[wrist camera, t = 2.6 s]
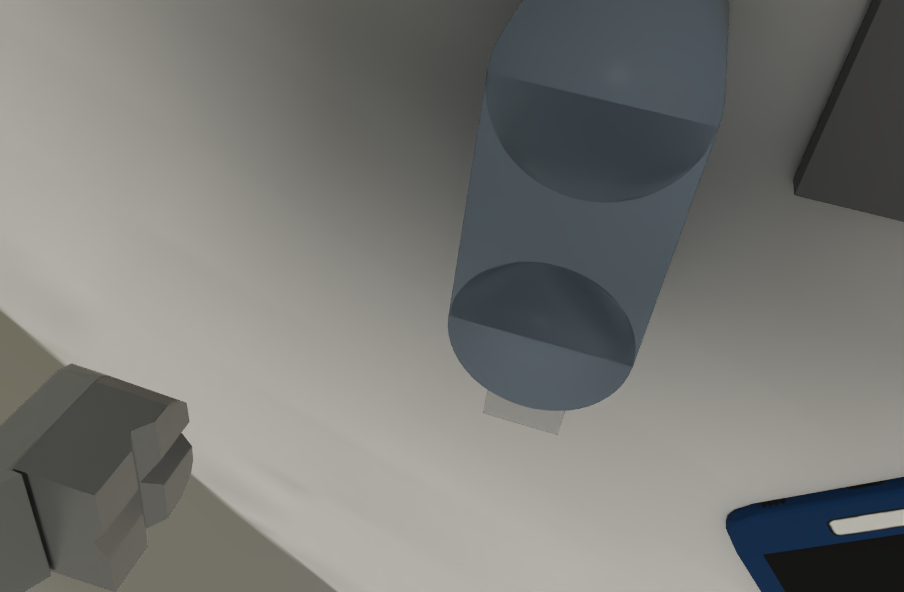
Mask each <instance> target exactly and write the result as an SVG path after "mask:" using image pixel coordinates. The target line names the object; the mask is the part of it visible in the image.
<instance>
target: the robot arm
mask: <svg viewBox="0 0 904 592" xmlns="http://www.w3.org/2000/svg"><path fill="white" fill-rule="evenodd" d="M188 423H189V415H188V409H187V403H186V402H183V401H180V400H177V399H174V398H171V397H168V396H166V395H163V394H160V393H157V392H154V391H151V390H148V389H145V388H143V387H140V386H137V385H134V384H131V383H128V382H125V381H122V380H120V379H117V378H114V377H111V376H108V375H105V374H102V373H99V372H96V371H93V370H90V369H87V368H84V367H81V366H77V365H74V364H70V365H67V366H65V367H63V368H61V369H58V370H57V371H56V372H55V373H54V374H53V375H52V376H51V377H50V378H49V379H47V381H45V382H44V383H43V384H42V385H41V386H40V387H39V388H38V389H37V390H36V391H35V392H34V393H33V394H32V395H31V396H30V397H29V398H28V399H27V400H26V401H25V402H24V403H23V404H22V405H21V406H20V407H19V408H18V409H17V410H16V411H15V412H14V413H13V414H12V415H11V416H10V417H9V418H8V419H7V420H6V421H5V422H4V423H3V424H2V425H1V426H0V592H25V591H26V590H28V589H30V588H31V587H33V586H35V585H36V584H38V583H40V582H41V581H43V580H45V579H46V578H48V577H50V576H51V571H53V572H56V573H59V574H62V575H65V576H68V577H71V578H74V579H77V580H80V581H83V582H86V583H90V584H93V585H96V586H98V587H101V588H105V589H108V590H111V591H114V592H116V591H117V590H118V588H119V587H120V586H121V584H122V583H123V582H124V580H125V579H126V577H127V576H128V575H129V573H130V572H131V570H132V569H133V567H134V566H135V565H136V563H137V562H138V560H139V559H140V558H141V556H142V555H143V553H144V552H145V551H146V549H147V548H148V543H147V542H148V541H147V528H149V527H150V526H153V525H155V524H157V523H159V522H161V521H163V520H165V519H167V518H169V516H170V515H171V513H172V512H173V510H174V509H175V507H176V506H177V504H178V503H179V501H180V499H181V498H182V496H183V493H184V491H185V488H186V486H187V483H188V481H189V479H190V476H191V470H192V463H193V453H192V446H191V444H190V443H189V442H188V441H187V439H186V438H185V437H184V435H183V434H182V433H181V432H182V431H183V430H184V428H185V427H186V426H187V424H188Z"/></svg>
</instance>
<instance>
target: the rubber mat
mask: <svg viewBox="0 0 904 592" xmlns="http://www.w3.org/2000/svg"><path fill="white" fill-rule="evenodd" d="M793 184H794V195H796V196H800V197H804V198H809V199H813V200H817V201H821V202H825V203H829V204H833V205H837V206H841V207H846V208H850V209H854V210H858V211H862V212H866V213H870V214H874V215H878V216H882V217H887V218H891V219H895V220H899V221H903V222H904V0H873V1H872V3H871V5H870V8H869V10H868V12H867V14H866V17H865V19H864V21H863V23H862V26H861V28H860V30H859V33H858V35H857V37H856V39H855V42H854V44H853V46H852V48H851V51H850V53H849V55H848V57H847V60H846V62H845V64H844V66H843V69H842V71H841V73H840V76H839V78H838V80H837V82H836V85H835V87H834V89H833V91H832V94H831V96H830V98H829V100H828V103H827V105H826V107H825V109H824V112H823V114H822V116H821V119H820V121H819V123H818V125H817V128H816V130H815V132H814V134H813V137H812V139H811V141H810V143H809V146H808V148H807V150H806V153H805V155H804V157H803V159H802V162H801V164H800V166H799V168H798V171H797V173H796V175H795V177H794V180H793Z"/></svg>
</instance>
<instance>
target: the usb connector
mask: <svg viewBox="0 0 904 592" xmlns="http://www.w3.org/2000/svg"><path fill="white" fill-rule="evenodd" d="M728 25H729V0H523V1H522V3H521V4H520V6H519V7H518V9H517V10H516V12H515V13H514V15H513V16H512V18H511V20H510V21H509V23H508V24H507V26H506V27H505V29H504V30H503V32H502V34H501V35H500V37H499V39H498V41H497V43H496V45H495V47H494V50H493V52H492V55H491V58H490V62H489V66H488V71H487V76H486V82H485V89H484V95H483V101H482V108H481V114H480V120H479V127H478V133H477V139H476V146H475V152H474V158H473V165H472V171H471V177H470V184H469V190H468V196H467V203H466V209H465V215H464V221H463V228H462V234H461V240H460V247H459V253H458V259H457V266H456V272H455V278H454V285H453V291H452V297H451V304H450V310H449V317H448V331H449V337H450V341H451V345H452V347H453V350H454V352H455V354H456V356H457V358H458V360H459V361H460V363H461V364H462V365H463V367H464V368H465V369H466V371H467V372H468V373H469V374H470V375H471V376H472V377H473V378H474V379H475V380H476V381H477V382H478V383H480V384H481V385H482V386H483V387H485V388H486V389H488V391H487V396H486V401H485V406H484V410H483V413H485V414H488V415H491V416H495V417H498V418H502V419H505V420H508V421H512V422H515V423H519V424H522V425H525V426H529V427H532V428H536V429H539V430H542V431H546V432H549V433H553V434H556V435H558V432H559V429H560V425H561V422H562V419H563V416H564V412H565V410H574V409H580V408H583V407H587V406H590V405H593V404H595V403H598V402H600V401H602V400H603V399H605V398H607V397H609V396H610V395H611V394H613V393H614V392H615V391H616V390H617V389H618V388H619V387H620V386H621V385H622V384H623V383H624V381H625V380H626V379H627V377H628V376H629V374H630V371H631V369H632V367H633V364H634V362H635V359H636V356H637V353H638V350H639V348H640V345H641V342H642V339H643V337H644V334H645V331H646V328H647V325H648V323H649V320H650V317H651V314H652V311H653V309H654V306H655V303H656V300H657V298H658V295H659V292H660V289H661V286H662V284H663V281H664V278H665V275H666V273H667V270H668V267H669V264H670V261H671V259H672V256H673V253H674V250H675V248H676V245H677V242H678V239H679V236H680V234H681V231H682V228H683V225H684V223H685V220H686V217H687V214H688V211H689V209H690V206H691V203H692V200H693V197H694V195H695V192H696V189H697V186H698V184H699V181H700V178H701V175H702V172H703V170H704V167H705V164H706V161H707V159H708V156H709V153H710V150H711V147H712V145H713V142H714V139H715V136H716V134H717V131H718V128H719V125H720V121H721V118H722V114H723V108H724V101H725V86H726V66H727V45H728Z"/></svg>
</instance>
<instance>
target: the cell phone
mask: <svg viewBox="0 0 904 592" xmlns="http://www.w3.org/2000/svg"><path fill="white" fill-rule="evenodd" d="M726 529H727V532H728V534H729V536H730V539H731V541H732V543H733V545H734V547H735V550H736V552H737V554H738V555H739V557H740V558H741V560H742V562H743V563H744V565H745V566H746V568H747V570H748V571H749V573H750V574H751V576H752V578H753V579H754V581H755V582H756V584H757V586H758V587H759V589H760V590H761V592H904V477H901V478H896V479H890V480H884V481H879V482H873V483H867V484H862V485H856V486H851V487H845V488H839V489H834V490H828V491H822V492H817V493H811V494H806V495H800V496H794V497H789V498H783V499H777V500H772V501H766V502H761V503H755V504H751V505H748V506H745V507H742V508H738V509H735V510H734V511H732V512H731V513H730V514H729V515H728V516H727V519H726Z"/></svg>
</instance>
